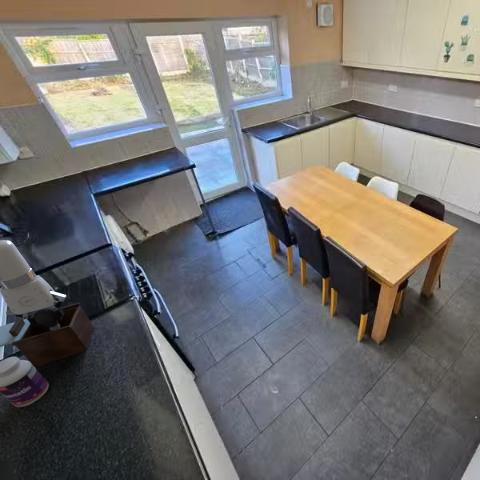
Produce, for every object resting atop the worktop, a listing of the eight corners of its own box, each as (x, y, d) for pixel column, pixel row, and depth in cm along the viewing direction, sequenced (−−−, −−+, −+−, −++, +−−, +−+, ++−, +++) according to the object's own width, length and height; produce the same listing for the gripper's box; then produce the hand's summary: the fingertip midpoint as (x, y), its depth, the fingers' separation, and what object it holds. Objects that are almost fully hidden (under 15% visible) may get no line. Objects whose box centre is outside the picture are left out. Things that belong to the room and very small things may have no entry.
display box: (34, 368, 90) (11, 343, 84) (47, 341, 100) (28, 316, 94) (87, 351, 96) (69, 326, 89) (94, 326, 106) (79, 302, 99)
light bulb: (66, 331, 94) (50, 310, 88) (45, 339, 91) (28, 318, 86) (68, 321, 98) (53, 301, 93) (48, 328, 95) (31, 308, 90)
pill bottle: (9, 413, 78) (-25, 383, 71) (22, 388, 84) (-7, 359, 77) (44, 401, 81) (15, 371, 73) (54, 378, 87) (29, 348, 80)
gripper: (-28, 295, 77) (11, 338, 86) (49, 276, 83) (77, 319, 92) (-14, 280, 83) (21, 322, 92) (56, 264, 89) (83, 305, 98)
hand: (49, 320), depth 92 cm, fingers closed on light bulb, 5 cm apart
